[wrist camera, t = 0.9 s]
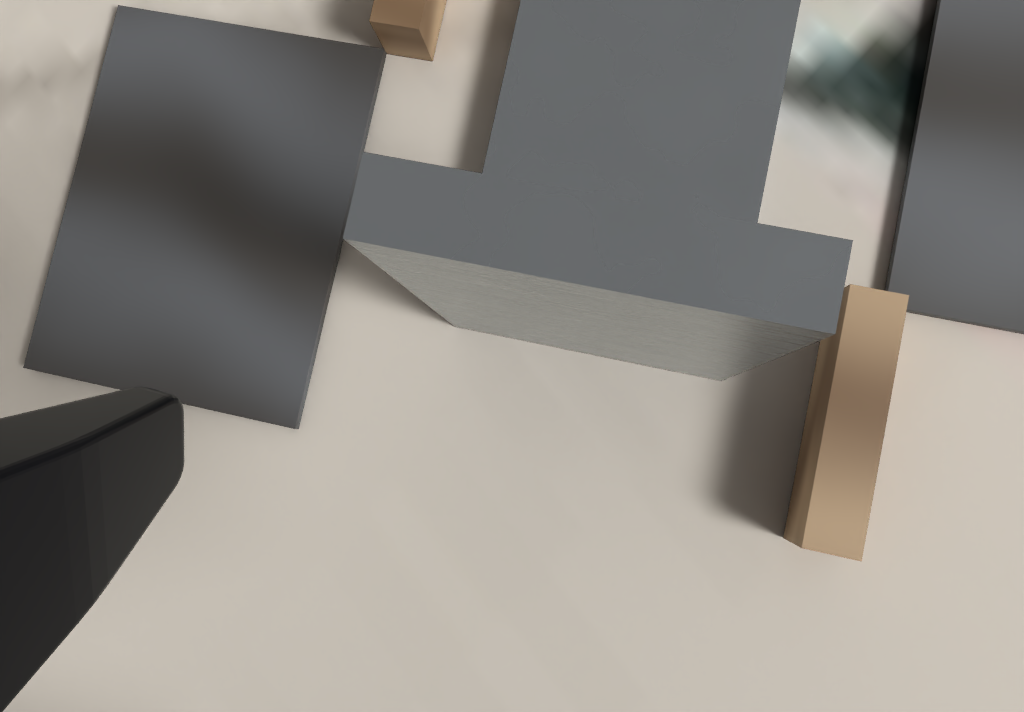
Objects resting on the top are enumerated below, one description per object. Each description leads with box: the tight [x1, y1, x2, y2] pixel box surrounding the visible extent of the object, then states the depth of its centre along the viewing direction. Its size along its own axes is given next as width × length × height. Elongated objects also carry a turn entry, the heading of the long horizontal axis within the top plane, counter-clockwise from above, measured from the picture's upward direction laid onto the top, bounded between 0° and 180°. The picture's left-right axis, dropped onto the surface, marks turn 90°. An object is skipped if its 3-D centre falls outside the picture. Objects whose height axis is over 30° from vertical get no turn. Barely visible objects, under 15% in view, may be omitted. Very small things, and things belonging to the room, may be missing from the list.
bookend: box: [343, 0, 853, 381], centre depth 19 cm, size 12×8×11 cm, turn 168°
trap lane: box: [23, 0, 1024, 561], centre depth 23 cm, size 25×34×2 cm
